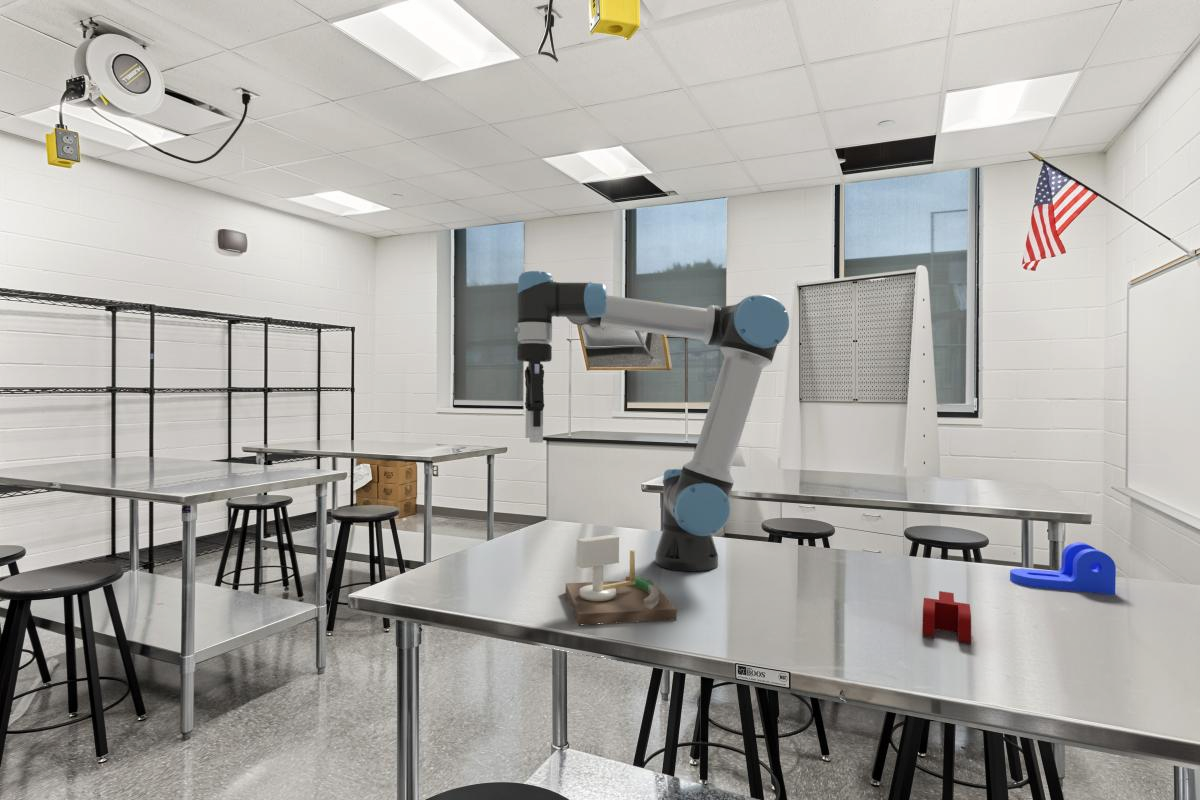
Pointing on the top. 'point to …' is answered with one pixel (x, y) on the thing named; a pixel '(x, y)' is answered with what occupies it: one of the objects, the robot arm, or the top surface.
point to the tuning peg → (601, 565)
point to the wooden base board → (622, 604)
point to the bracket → (1073, 572)
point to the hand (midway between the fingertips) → (533, 440)
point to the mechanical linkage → (947, 617)
